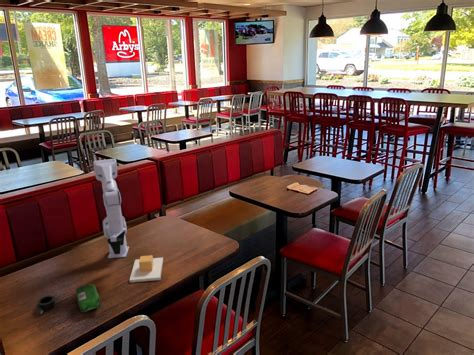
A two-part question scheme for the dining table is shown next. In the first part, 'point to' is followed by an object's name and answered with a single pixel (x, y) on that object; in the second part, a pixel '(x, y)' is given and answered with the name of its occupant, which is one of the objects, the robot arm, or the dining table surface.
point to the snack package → (88, 297)
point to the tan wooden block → (146, 263)
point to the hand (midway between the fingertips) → (119, 249)
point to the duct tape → (46, 303)
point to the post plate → (147, 275)
